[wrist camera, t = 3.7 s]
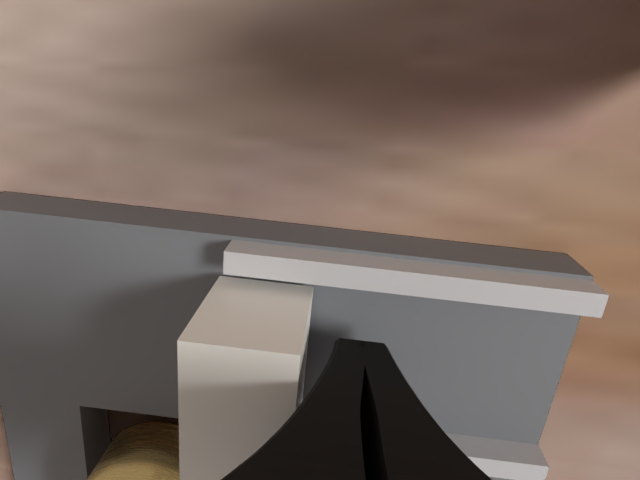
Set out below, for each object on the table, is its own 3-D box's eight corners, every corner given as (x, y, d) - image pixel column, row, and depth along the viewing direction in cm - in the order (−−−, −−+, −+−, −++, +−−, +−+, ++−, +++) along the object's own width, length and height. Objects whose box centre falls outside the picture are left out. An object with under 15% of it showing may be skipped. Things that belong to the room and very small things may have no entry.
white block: (301, 413, 13) (286, 508, 10) (217, 403, 13) (179, 493, 10) (313, 286, 12) (300, 355, 9) (219, 275, 12) (176, 340, 9)
